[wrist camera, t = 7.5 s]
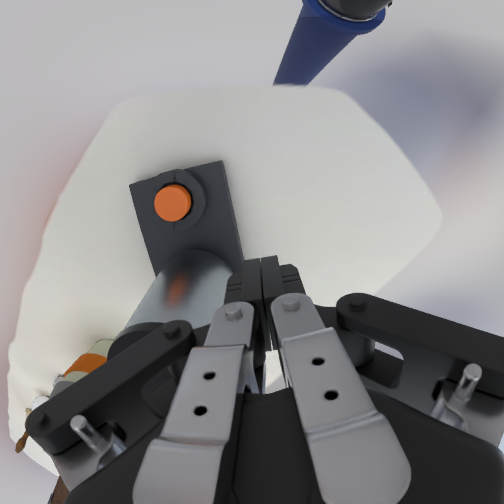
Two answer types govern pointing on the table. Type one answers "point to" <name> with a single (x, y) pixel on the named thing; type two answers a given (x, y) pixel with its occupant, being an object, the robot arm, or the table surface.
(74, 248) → the table surface
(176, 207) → the switch
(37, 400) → the geometric ball
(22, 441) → the hand bell
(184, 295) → the silver metal canister
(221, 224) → the push button base
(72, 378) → the reusable coffee cup
